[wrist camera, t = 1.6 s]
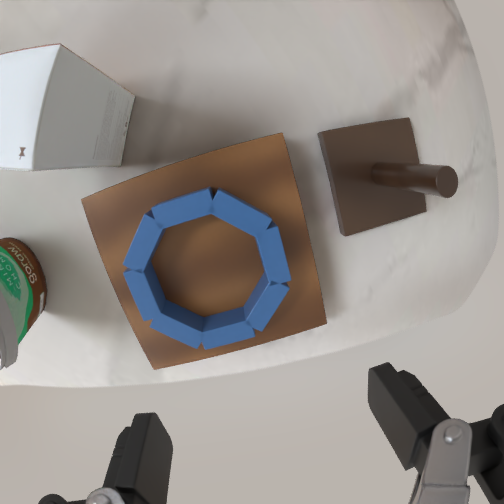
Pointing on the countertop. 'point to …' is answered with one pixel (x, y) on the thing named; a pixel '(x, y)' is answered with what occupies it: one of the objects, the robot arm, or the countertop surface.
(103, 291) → the countertop surface
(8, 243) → the food container
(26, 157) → the small box
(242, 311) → the ring
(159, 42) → the countertop surface
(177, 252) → the platform
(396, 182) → the ring stand
